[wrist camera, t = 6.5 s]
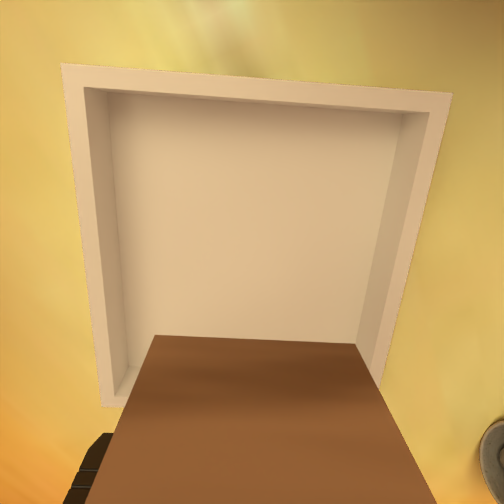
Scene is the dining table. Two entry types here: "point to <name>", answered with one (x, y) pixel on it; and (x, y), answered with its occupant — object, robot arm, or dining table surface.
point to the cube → (256, 429)
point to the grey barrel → (493, 460)
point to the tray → (244, 208)
